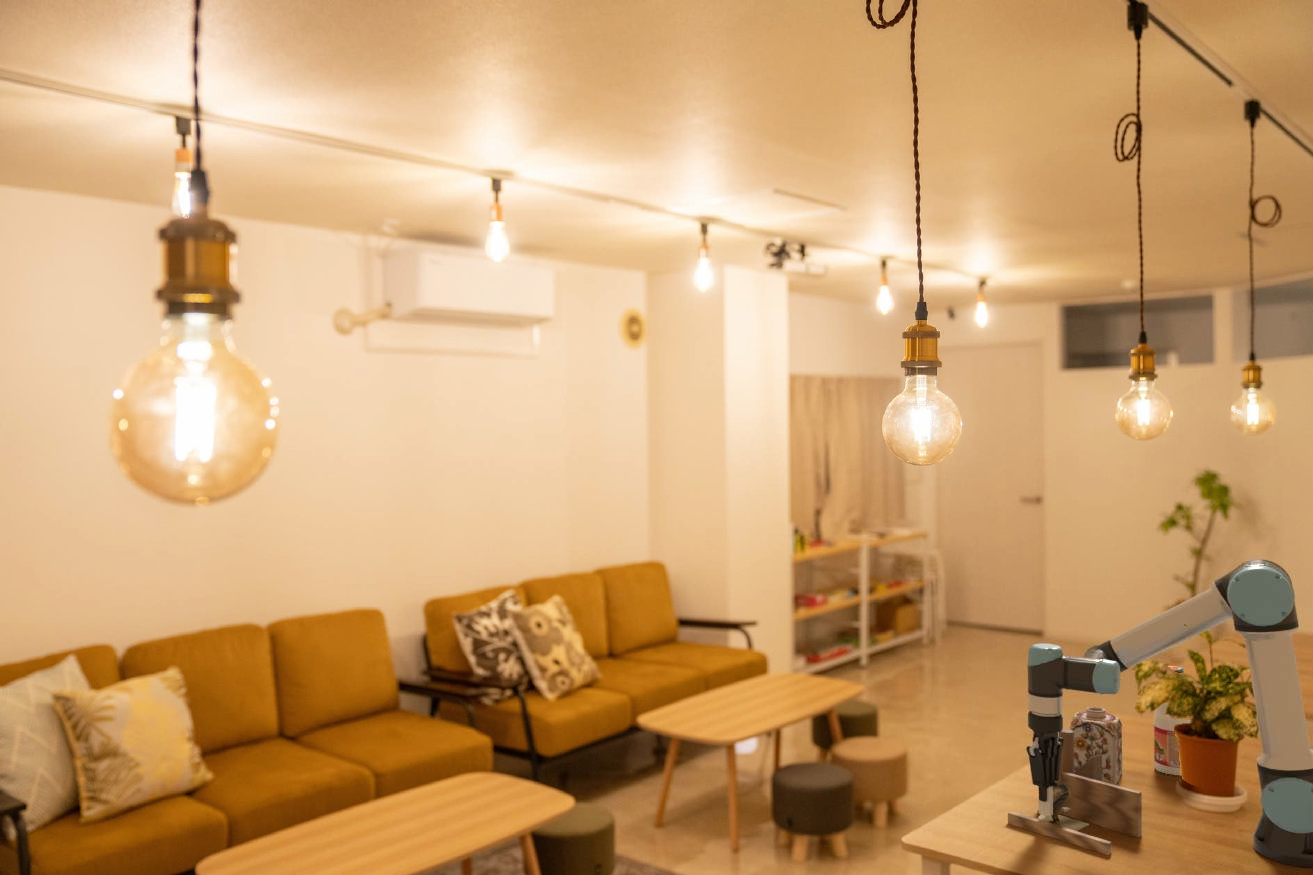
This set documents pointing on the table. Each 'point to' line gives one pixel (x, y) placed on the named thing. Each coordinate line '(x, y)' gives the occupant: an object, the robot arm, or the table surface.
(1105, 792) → the wall board
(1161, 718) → the fruit juice
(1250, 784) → the table surface
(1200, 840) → the table surface
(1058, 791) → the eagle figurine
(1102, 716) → the decorative jar
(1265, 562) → the robot arm
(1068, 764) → the wooden block
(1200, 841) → the table surface
